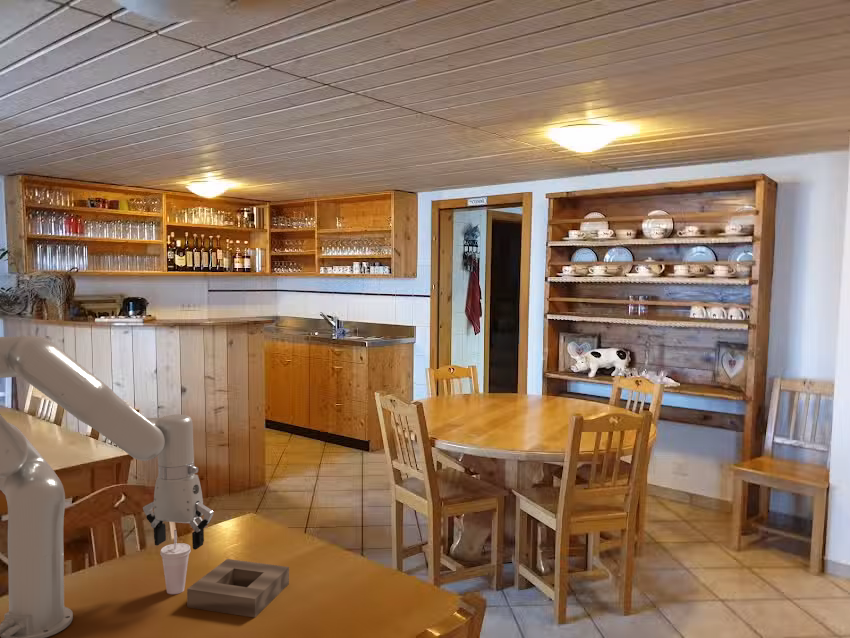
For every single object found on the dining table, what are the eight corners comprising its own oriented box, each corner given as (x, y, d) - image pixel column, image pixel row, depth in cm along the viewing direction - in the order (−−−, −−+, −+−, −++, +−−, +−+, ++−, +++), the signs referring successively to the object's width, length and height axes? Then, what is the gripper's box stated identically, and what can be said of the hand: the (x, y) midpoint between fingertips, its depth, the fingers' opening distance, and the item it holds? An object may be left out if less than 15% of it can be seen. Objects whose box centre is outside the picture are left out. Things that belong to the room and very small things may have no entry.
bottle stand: (254, 617, 136) (255, 598, 135) (187, 607, 139) (187, 588, 139) (288, 583, 151) (289, 567, 151) (227, 575, 155) (227, 558, 155)
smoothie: (158, 598, 143) (158, 536, 142) (162, 585, 149) (162, 525, 148) (189, 595, 145) (189, 533, 144) (191, 582, 151) (191, 523, 150)
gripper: (220, 468, 147) (222, 542, 148) (153, 463, 151) (156, 535, 153) (201, 478, 140) (203, 555, 141) (131, 473, 144) (134, 548, 145)
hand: (179, 545), depth 147 cm, fingers open, 9 cm apart
